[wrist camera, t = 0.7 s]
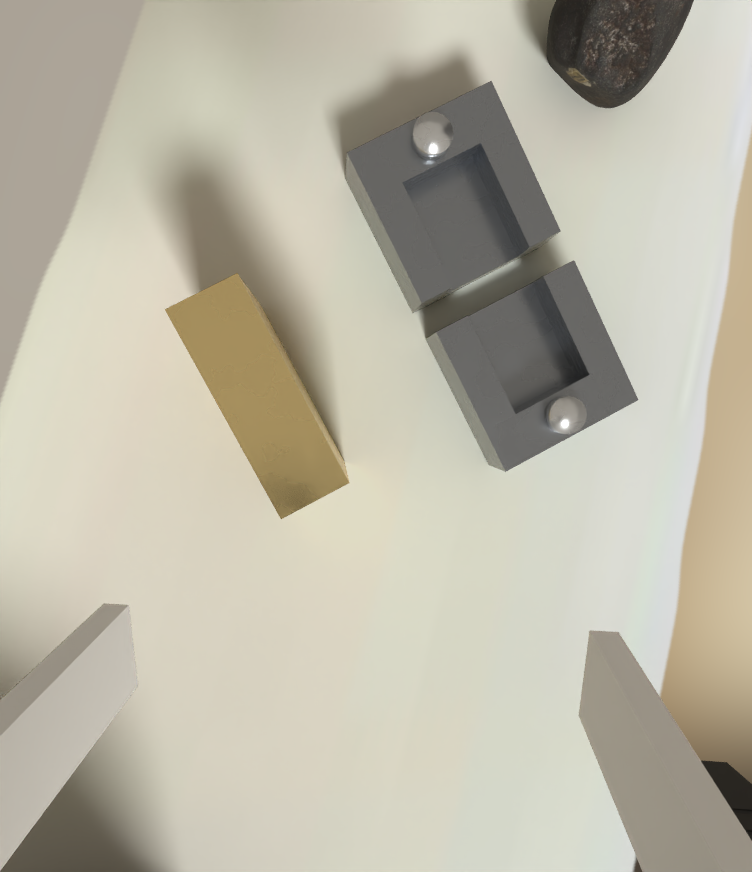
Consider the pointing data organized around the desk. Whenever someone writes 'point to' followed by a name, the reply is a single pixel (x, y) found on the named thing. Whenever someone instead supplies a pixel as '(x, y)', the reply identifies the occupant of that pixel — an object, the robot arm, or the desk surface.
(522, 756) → the desk surface
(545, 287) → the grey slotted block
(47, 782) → the robot arm
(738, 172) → the desk surface
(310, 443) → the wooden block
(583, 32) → the stone
